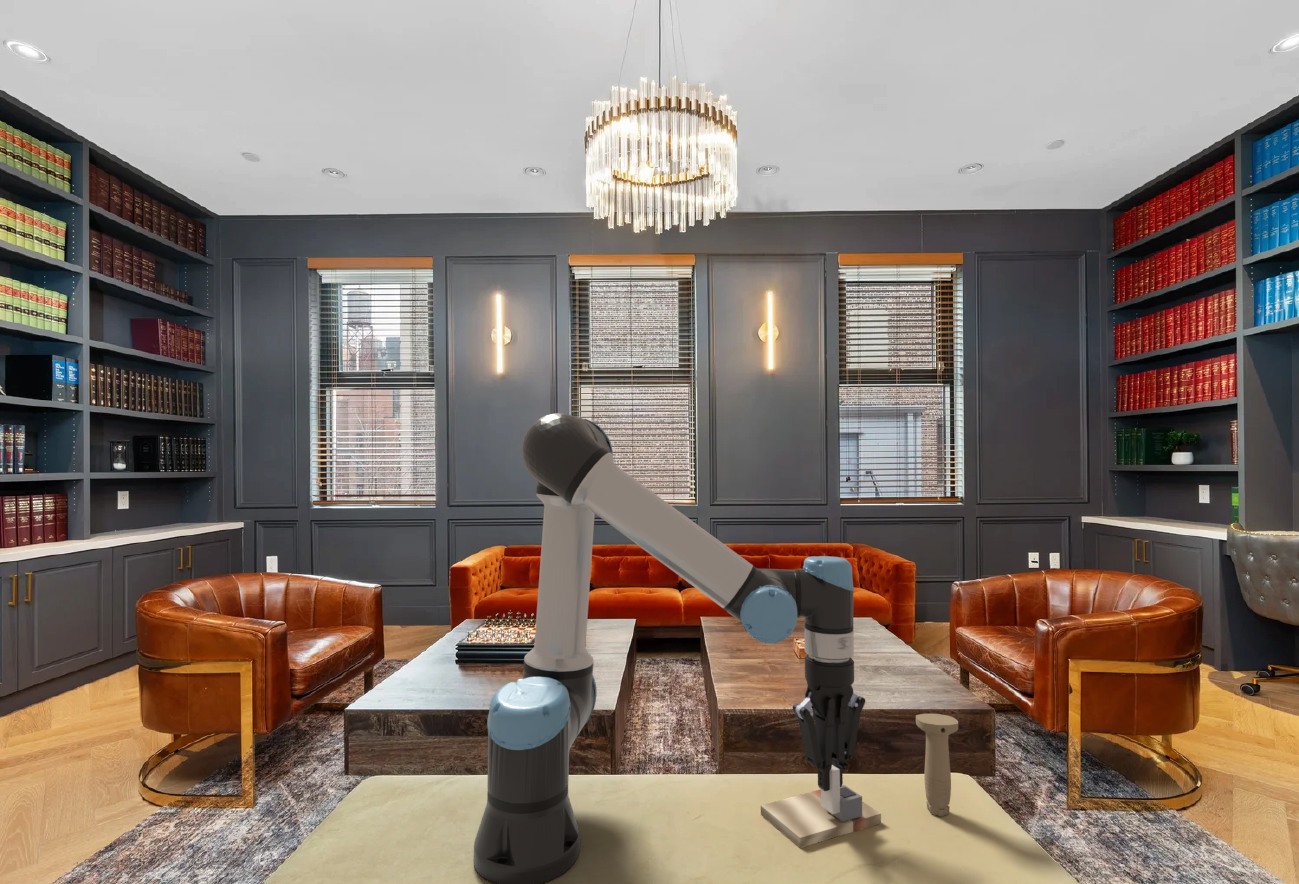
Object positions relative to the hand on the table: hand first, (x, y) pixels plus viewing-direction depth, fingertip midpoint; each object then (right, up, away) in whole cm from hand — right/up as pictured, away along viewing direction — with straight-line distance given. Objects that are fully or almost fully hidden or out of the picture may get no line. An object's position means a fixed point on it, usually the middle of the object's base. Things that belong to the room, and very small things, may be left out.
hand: (830, 808), depth 99 cm
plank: (-1, -3, +3) cm, 4 cm away
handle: (+19, -4, +5) cm, 20 cm away
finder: (+2, -1, +1) cm, 3 cm away
